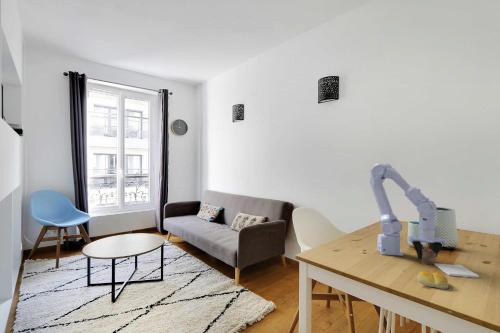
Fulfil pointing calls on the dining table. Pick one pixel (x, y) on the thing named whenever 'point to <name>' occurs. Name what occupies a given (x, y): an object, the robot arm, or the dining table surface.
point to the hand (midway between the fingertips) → (426, 258)
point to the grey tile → (456, 270)
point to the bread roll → (433, 279)
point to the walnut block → (428, 257)
